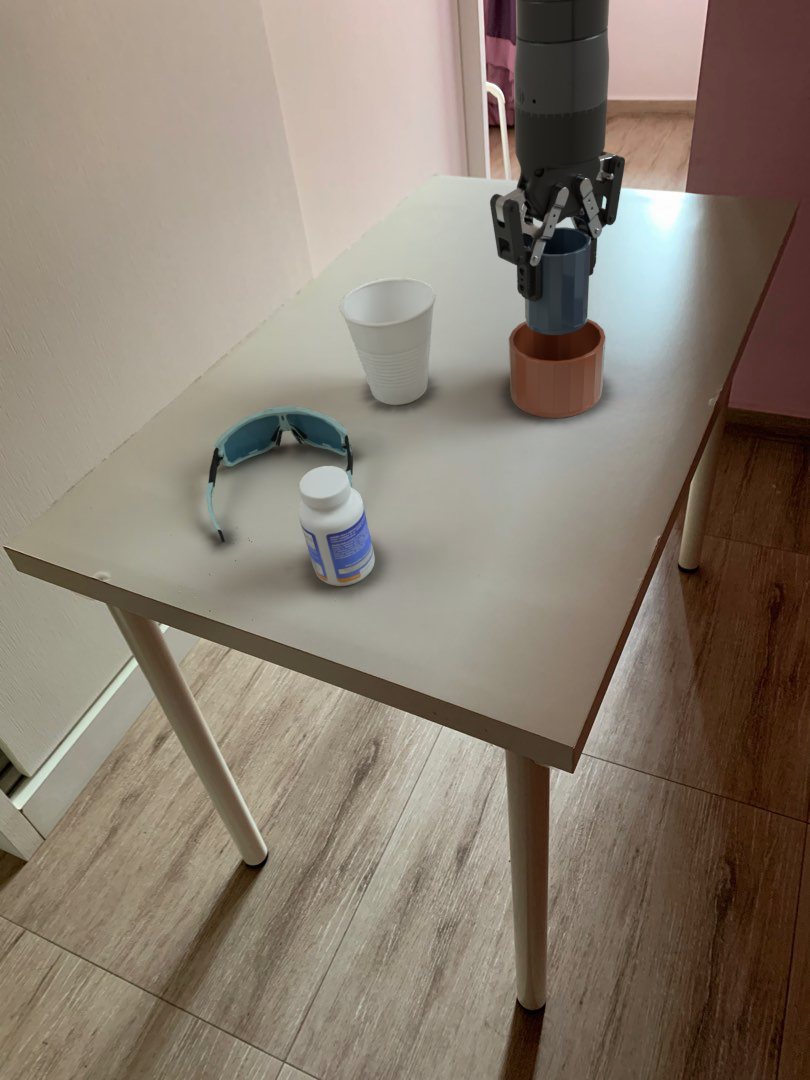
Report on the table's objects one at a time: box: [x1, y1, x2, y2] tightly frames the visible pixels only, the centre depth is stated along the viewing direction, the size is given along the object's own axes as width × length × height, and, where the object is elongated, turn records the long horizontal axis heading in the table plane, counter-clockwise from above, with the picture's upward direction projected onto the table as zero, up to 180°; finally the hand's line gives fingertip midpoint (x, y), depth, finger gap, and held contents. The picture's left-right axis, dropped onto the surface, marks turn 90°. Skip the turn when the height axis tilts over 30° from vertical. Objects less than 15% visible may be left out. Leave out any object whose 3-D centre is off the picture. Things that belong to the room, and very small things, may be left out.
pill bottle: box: [297, 465, 376, 587], centre depth 67 cm, size 5×5×10 cm
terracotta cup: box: [508, 318, 607, 419], centre depth 84 cm, size 10×10×6 cm
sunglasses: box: [205, 405, 354, 543], centre depth 78 cm, size 14×15×5 cm
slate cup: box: [524, 226, 591, 335], centre depth 77 cm, size 6×6×8 cm
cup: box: [338, 276, 437, 406], centre depth 86 cm, size 10×10×11 cm
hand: (557, 285), depth 78 cm, fingers closed on slate cup, 6 cm apart
